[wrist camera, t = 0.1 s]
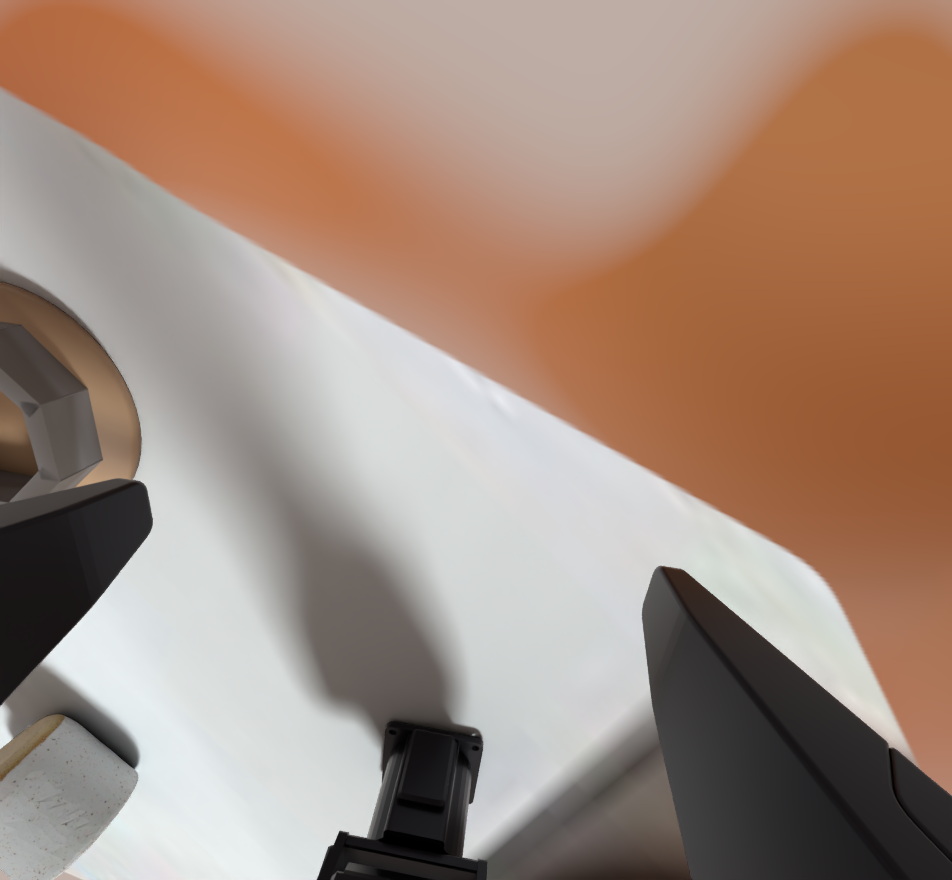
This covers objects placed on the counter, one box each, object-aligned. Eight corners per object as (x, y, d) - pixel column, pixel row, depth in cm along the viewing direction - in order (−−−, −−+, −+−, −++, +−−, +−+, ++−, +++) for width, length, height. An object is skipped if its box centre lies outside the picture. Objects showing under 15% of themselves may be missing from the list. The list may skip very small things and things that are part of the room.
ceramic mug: (76, 692, 35) (-42, 808, 28) (159, 761, 37) (69, 885, 30) (3, 733, 38) (-119, 846, 31) (83, 794, 40) (-14, 912, 33)
